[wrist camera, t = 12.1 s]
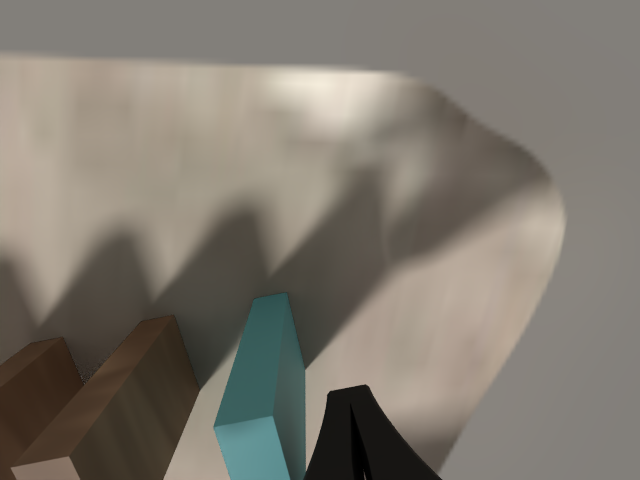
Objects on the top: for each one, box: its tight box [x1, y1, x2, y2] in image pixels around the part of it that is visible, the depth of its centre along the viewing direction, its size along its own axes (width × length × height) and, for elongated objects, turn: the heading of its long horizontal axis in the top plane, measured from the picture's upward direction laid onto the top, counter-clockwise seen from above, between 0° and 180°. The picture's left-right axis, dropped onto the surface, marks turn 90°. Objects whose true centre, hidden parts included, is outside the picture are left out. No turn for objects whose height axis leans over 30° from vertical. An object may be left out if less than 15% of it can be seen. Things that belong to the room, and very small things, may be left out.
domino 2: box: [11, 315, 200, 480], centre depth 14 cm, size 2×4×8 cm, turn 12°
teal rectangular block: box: [213, 292, 306, 480], centre depth 14 cm, size 2×4×8 cm, turn 12°
